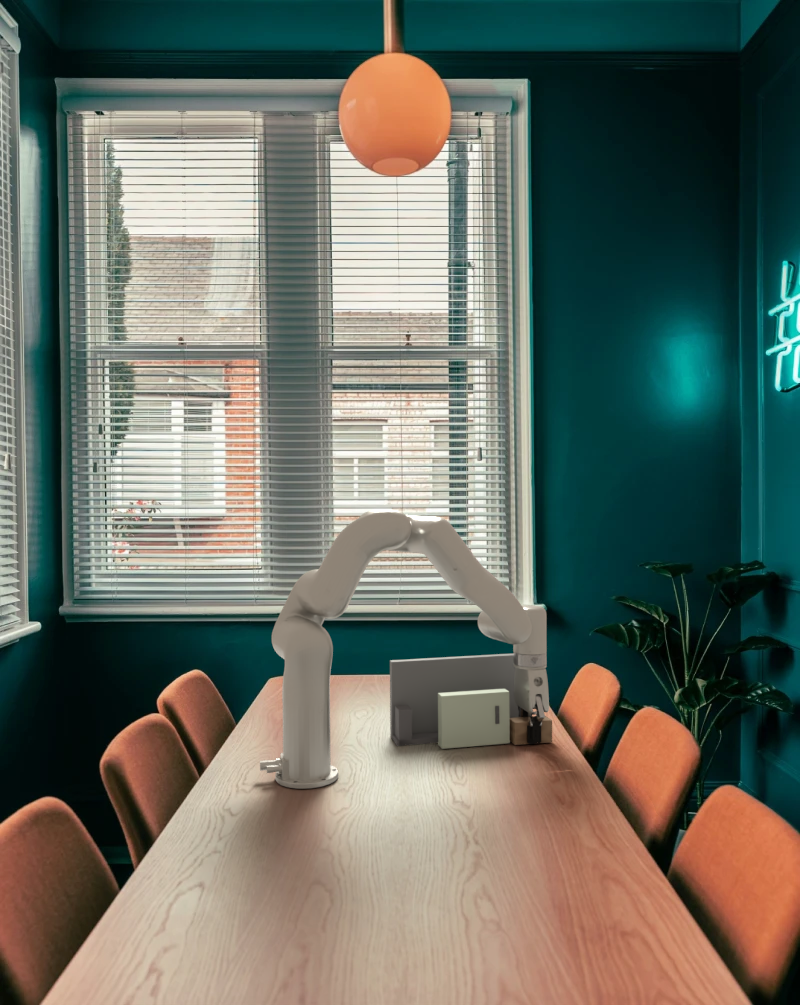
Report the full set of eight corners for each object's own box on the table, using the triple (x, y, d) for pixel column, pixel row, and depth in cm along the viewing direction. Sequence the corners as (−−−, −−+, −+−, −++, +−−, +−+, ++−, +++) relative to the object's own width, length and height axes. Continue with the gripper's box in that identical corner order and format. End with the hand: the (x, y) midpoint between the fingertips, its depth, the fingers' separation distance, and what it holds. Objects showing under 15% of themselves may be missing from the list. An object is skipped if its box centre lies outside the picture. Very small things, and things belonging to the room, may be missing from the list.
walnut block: (514, 744, 174) (514, 722, 174) (508, 739, 177) (508, 717, 177) (552, 742, 176) (552, 720, 176) (544, 737, 179) (544, 715, 179)
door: (442, 749, 171) (442, 696, 171) (438, 744, 174) (437, 693, 174) (510, 743, 175) (509, 692, 175) (505, 739, 178) (504, 688, 178)
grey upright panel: (397, 745, 175) (396, 666, 175) (390, 736, 181) (389, 660, 181) (537, 734, 182) (536, 658, 182) (525, 726, 189) (525, 652, 189)
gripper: (560, 666, 169) (560, 750, 169) (530, 652, 186) (531, 728, 186) (528, 668, 168) (528, 752, 167) (501, 653, 184) (501, 730, 184)
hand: (530, 739), depth 176 cm, fingers closed on walnut block, 4 cm apart
